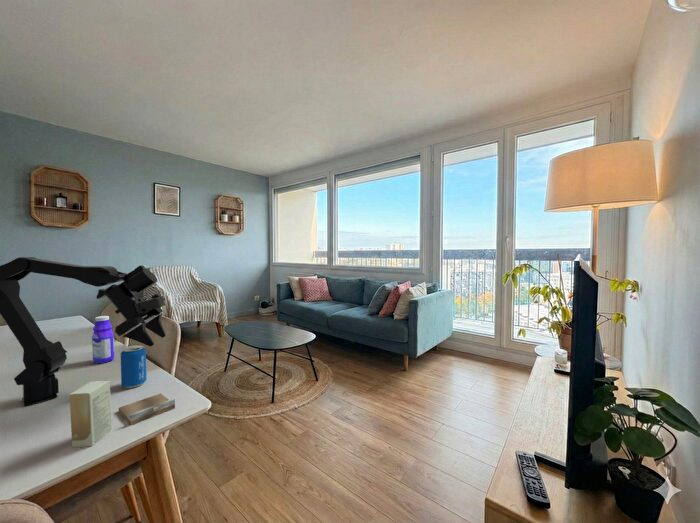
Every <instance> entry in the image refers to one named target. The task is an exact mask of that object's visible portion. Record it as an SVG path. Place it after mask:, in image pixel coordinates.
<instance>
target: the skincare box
mask: <svg viewBox="0 0 700 523" xmlns="http://www.w3.org/2000/svg"><path fill="white" fill-rule="evenodd" d="M111 398H112V397H111V381H110V380H93V381H90V382H88V383H86V384H84V385H83V386H81V387H79V388H78V389H76V390H74V391H73V392H70V393H69V409H70V412H69V413H70V429H71V447H72V448H83V447H93V446H94V445H95V444H97V443H98V442H99V441H100V440H102V438H104V436H106V435H107V434H108V433H109V432H110V431H112V429H113V424H112V423H113V422H112V421H113V420H112V403H111Z"/></svg>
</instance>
